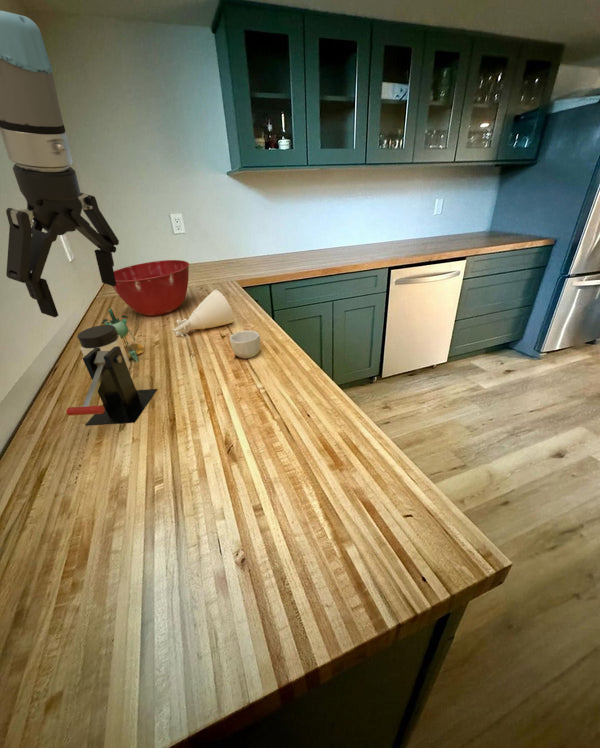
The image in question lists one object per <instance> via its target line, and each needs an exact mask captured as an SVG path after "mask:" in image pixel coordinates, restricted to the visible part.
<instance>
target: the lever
mask: <svg viewBox="0 0 600 748" xmlns="http://www.w3.org/2000/svg"><path fill="white" fill-rule="evenodd" d="M108 352H109V351H98V353H97V355H96V358H95V360H94V364H95V365H96V366H97V370H96V372H95V375H94V378H93V380H92V379H91V383H90V386H89V388H88V391H87V393H86V396H85V397H84V400H83V403H82V406H69V407H67V409H66V410H65V411H66V415H67V416H71V417H72V416H87V415H88V416H89V415H94V414H103V413H104V411H105V408H104V406H102V405H103V404H102V405H101V404H100V405H94V402H95V400H96V397H97V394H98V389H99V387H100V384H101V381H102V379H103V376H104V373H105V370H109V369H108V367H107V365H106V362H105V360H104V356H105V355H106V354H107V353H108Z"/></svg>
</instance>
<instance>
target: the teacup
mask: <svg viewBox="0 0 600 748" xmlns="http://www.w3.org/2000/svg"><path fill="white" fill-rule="evenodd" d="M260 337H261V336H260V334H259V332H257V331H255V330H253V329H252V330H250V329H248V330H246V329H245V330H239V331H236V332H234V333H232V334H231V335H230V336H229V345H230V348H231V350H232V353H233V354H234V355H235V356H237V358H239V359H240V358H241V359H251V358H253V357H255V356H256V355H257V354H258V353H259V351H260V349H261V338H260Z"/></svg>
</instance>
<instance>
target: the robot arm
mask: <svg viewBox="0 0 600 748" xmlns="http://www.w3.org/2000/svg"><path fill="white" fill-rule="evenodd" d="M0 137H1V139H2V143H3V145H4V148H5V151H6V155H7V158H8V159H9V161H11V162H12V163H14V164H13V167H12V171H13V174H14V177H15V180H16V183H17V185H18V189H19V191H20V193H21V195H22V196H23V197H24V199H25V201H26V208H24V209H23V208H22V209H16V208H12V207H8V208H6V210H5V213H6V217H7V221H8V225H9V231H8V244H7V260H6V271H5V272H6V273H5V275H6V277H7V278H8V279H10V280H14V281H16V282H19V283H22V284H24V285H25V287H26V290H27V291H28V294H29V296H30V298H32V299H34V300H36V302H37V305H38V308H39V311H40V313H41V314H43V315H46V316H49V317H52V318H57V317H58V316H60V315H59V312H58V310H57V306H56V303H55V302H54V298H53V295H52V293H51V289H50V287H49V284H48V281H47V279H46V278H42V275H43V272H44V270H45V269H44V268H45V266H46V263H47V260H48V256H49V253H50V251H51V248H52V245H53V243H54V242H56V241H57V239H58V236H64V235H65V234H67V233H68V232H69V233H73V232H75V231H77V232H79V233H80V234H81V235H82V236H84V237H85V238H86V240H88V241H89V242H91V243H92V244H93V245H94V246H95V247H97V249H95V250H94V255H95V259H96V263H97V267H98V271H99V276H100V280H101V283H102V284H105V285H108V286H111V287H112V286H116V280H115V276H114V271H115V270H114V267H115V261H114V258H113V253H114V254H115V253H116V252H117V247H116V246H118V245H119V244H120V240H119V239H118V237H117V235H116V234H115V232H114V230H113V229H112V228H111V226H110V224H109V223H108V221H107V220H106V218H105V216H104V215H103V213H102V211H101V210H100V208H99V204H98V202H97V197H95V195H91V194H88V193H84V192H81V189H80V184H79V180H78V176H77V172H76V170H75V169H74V168H73V167H71V166H72V165H73V164H74V161H73V156H72V152H71V148H70V144H69V140H68V136H67V132H66V127H65V124H64V120H63V116H62V112H61V107H60V103H59V98H58V94H57V89H56V84H55V80H54V74H53V66H52V64H51V62H50V58H49V56H48V52H47V49H46V46H45V41H44V39H43V36H42V32H41V30H40V28H39V26H38V25H37V24H36V22H34V21H33V20H32V19H31V18H29V17H28V16H25V15H22V14H17V13H13V12H9V11H5V10H2V9H1V10H0ZM82 211H83V213H84V214H85V215H86V217H87V219H88V220H89V221H88V220H87V219H85V218H84V217H83V216H82ZM91 224H92V226H91ZM43 230H44V231H43ZM45 231H46V232H45Z"/></svg>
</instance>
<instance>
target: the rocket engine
mask: <svg viewBox="0 0 600 748" xmlns="http://www.w3.org/2000/svg"><path fill="white" fill-rule="evenodd" d="M175 322H176V324H177V326H176V327H173V328H172V332H174V335H175V336H176V337H179V336H181V338H185V336H186V338H189V337H190V336H189V334H188V332H189V331H190V330H205V329H212V328H216V327H221V326H225V325H226V326H227V325H228V324H232V323H234V322H235V315H234V311H233V309H232V307H231V304H230V303H229V301H228V300H227V298H226V297H225V296H224V294H223V293H222V292H221V291H220V290H218V289H214V290H213V291H212V292H210V293H209V294H208V295H207V296H206V297H205V298H204V299H203V300H202V301H201V302H200V303H199V305H198V306H197V307H196V308H195V309H194V310H192V311H191V314H190V316H189V317H188V319H187V318H184V319H182V320H181V318H179V319H176V321H175Z"/></svg>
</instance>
